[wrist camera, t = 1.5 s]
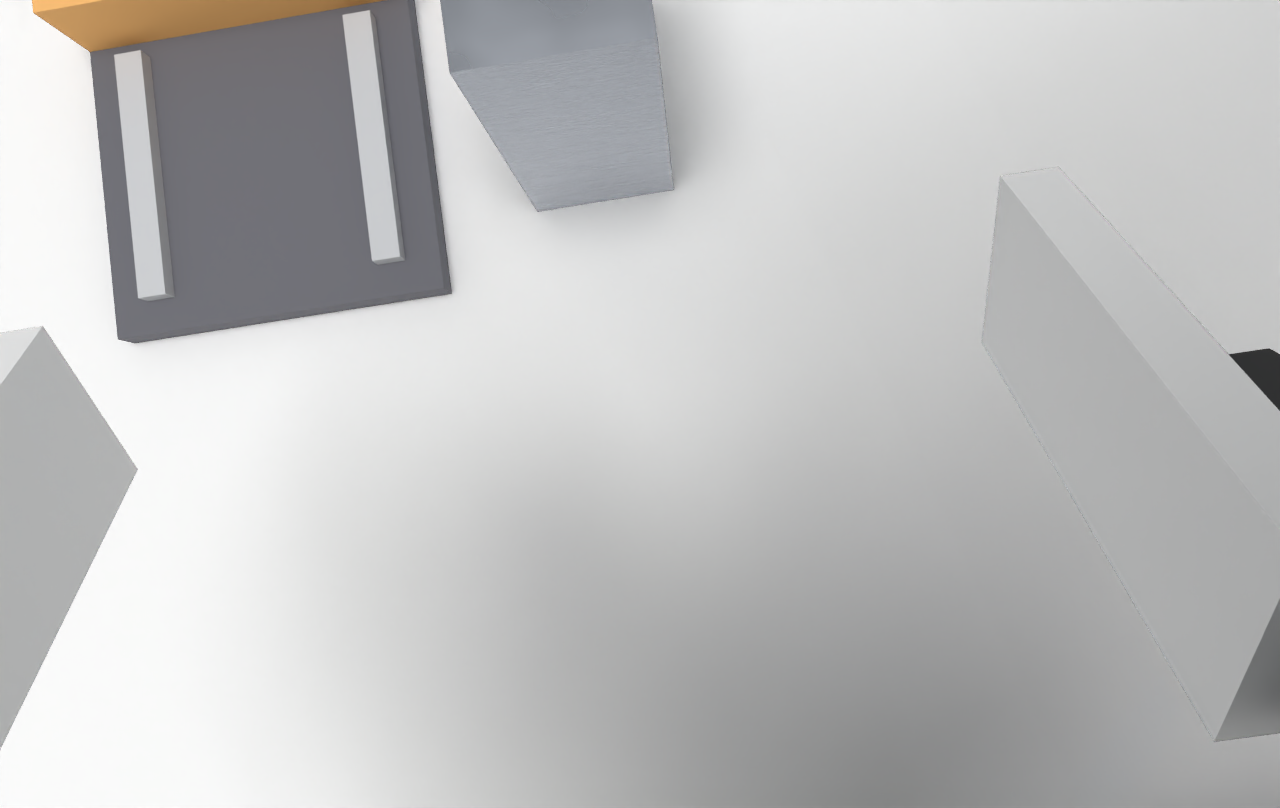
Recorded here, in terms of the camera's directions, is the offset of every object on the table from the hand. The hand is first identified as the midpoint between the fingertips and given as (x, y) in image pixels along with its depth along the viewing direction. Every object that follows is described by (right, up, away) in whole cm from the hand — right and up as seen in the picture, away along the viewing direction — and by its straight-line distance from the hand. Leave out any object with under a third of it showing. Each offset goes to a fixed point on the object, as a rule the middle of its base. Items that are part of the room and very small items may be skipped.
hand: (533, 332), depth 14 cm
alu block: (0, +10, +21) cm, 24 cm away
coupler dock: (-12, +8, +22) cm, 26 cm away
